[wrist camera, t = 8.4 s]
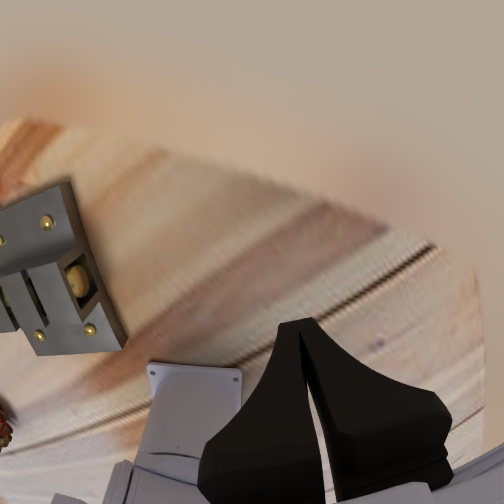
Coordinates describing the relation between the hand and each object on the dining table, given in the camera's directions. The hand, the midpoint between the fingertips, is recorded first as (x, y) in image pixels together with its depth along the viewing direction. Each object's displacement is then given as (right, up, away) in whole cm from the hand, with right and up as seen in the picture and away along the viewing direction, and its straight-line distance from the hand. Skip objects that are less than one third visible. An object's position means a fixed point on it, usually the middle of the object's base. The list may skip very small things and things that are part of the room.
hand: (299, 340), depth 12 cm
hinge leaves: (-18, +1, +10) cm, 21 cm away
